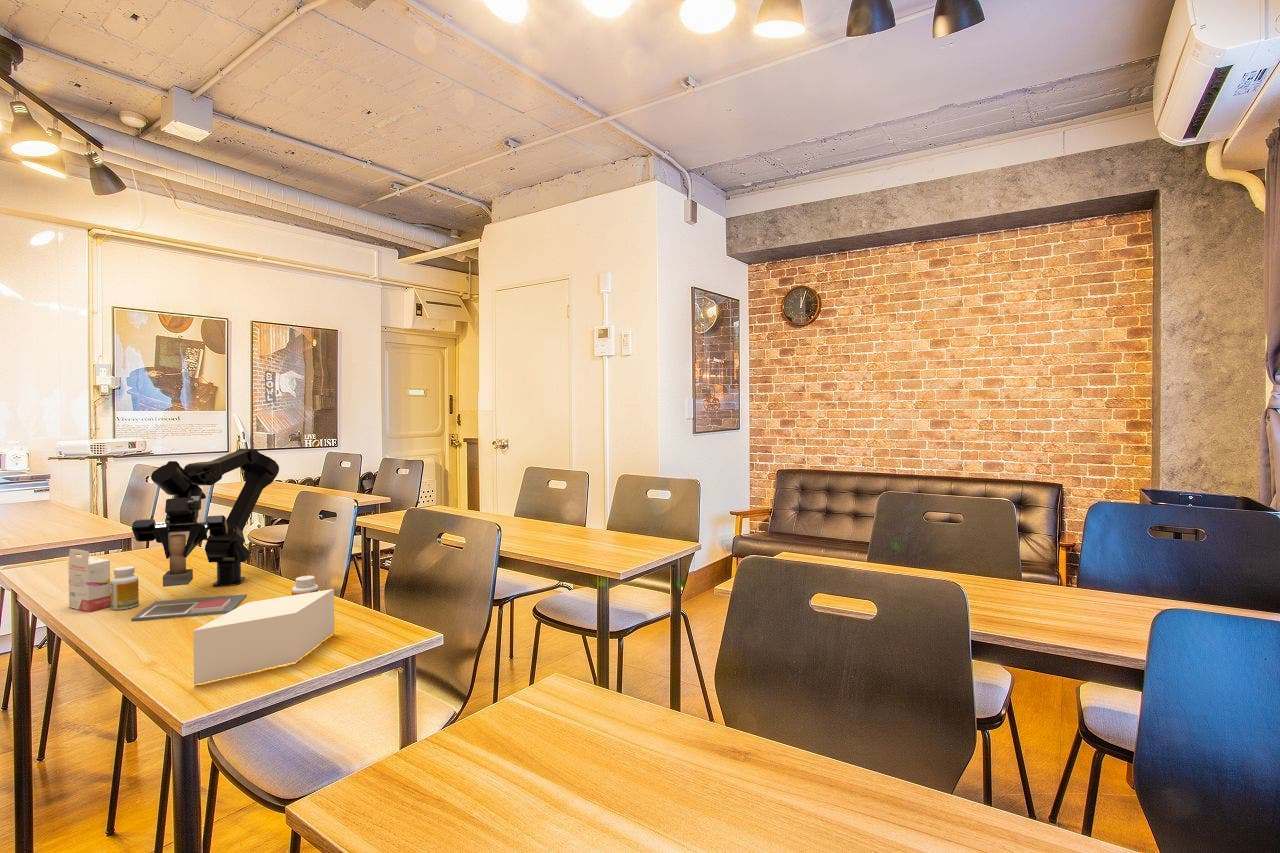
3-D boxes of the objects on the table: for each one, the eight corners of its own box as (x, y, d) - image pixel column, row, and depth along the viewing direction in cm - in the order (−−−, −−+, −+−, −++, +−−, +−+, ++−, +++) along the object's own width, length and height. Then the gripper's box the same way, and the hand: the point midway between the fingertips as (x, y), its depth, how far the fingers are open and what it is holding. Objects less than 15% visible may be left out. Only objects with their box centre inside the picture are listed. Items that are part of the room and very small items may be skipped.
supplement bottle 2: (311, 625, 144) (311, 581, 144) (286, 625, 144) (286, 581, 144) (323, 617, 150) (322, 574, 150) (299, 617, 150) (298, 574, 150)
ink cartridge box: (112, 606, 157) (111, 547, 157) (88, 612, 152) (87, 551, 152) (91, 602, 160) (90, 544, 160) (67, 608, 156) (66, 548, 155)
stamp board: (155, 603, 160) (155, 596, 159) (246, 596, 166) (246, 589, 166) (131, 621, 146) (131, 613, 146) (231, 612, 153) (230, 605, 153)
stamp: (168, 580, 154) (167, 534, 154) (192, 578, 157) (192, 532, 156) (162, 586, 150) (161, 538, 149) (188, 584, 152) (187, 537, 151)
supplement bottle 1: (144, 604, 159) (143, 565, 159) (125, 610, 154) (124, 571, 153) (124, 603, 160) (124, 565, 159) (104, 610, 154) (104, 570, 154)
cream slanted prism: (169, 680, 116) (169, 624, 115) (311, 630, 142) (311, 584, 142) (219, 695, 110) (218, 637, 109) (357, 640, 136) (357, 593, 136)
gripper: (133, 486, 152) (119, 541, 142) (225, 483, 160) (217, 535, 150) (143, 514, 159) (130, 568, 150) (230, 510, 167) (223, 560, 158)
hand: (176, 557), depth 152 cm, fingers closed on stamp, 3 cm apart
